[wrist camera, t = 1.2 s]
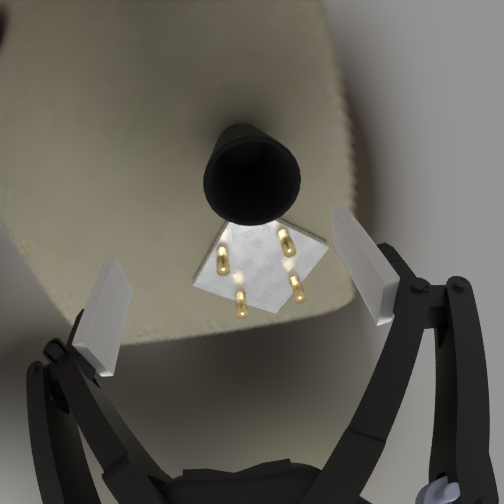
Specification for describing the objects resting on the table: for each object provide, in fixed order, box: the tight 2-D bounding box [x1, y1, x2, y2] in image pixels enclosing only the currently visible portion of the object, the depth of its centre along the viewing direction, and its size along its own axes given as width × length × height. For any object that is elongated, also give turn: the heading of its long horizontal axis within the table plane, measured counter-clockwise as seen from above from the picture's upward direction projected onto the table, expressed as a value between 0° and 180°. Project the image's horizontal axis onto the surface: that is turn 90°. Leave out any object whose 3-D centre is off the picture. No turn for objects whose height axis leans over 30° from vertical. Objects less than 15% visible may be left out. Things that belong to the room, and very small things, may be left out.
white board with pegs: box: [193, 218, 329, 319], centre depth 39 cm, size 14×14×6 cm
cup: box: [203, 124, 301, 226], centre depth 27 cm, size 8×8×12 cm
